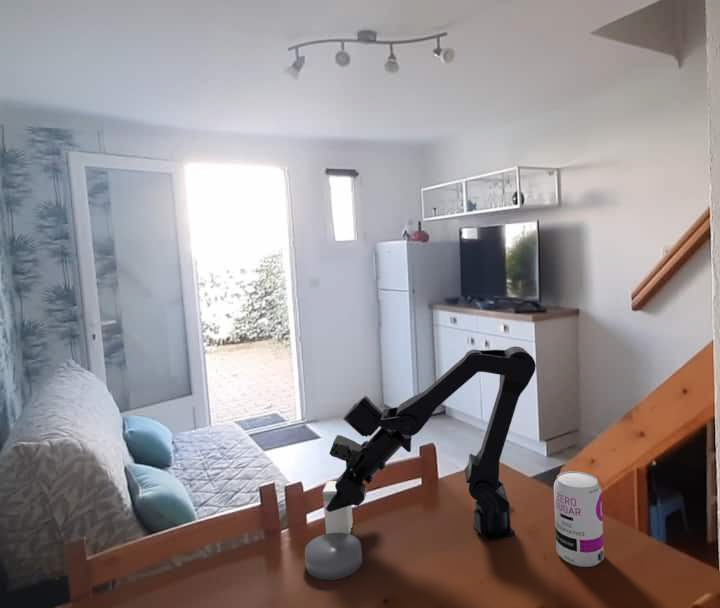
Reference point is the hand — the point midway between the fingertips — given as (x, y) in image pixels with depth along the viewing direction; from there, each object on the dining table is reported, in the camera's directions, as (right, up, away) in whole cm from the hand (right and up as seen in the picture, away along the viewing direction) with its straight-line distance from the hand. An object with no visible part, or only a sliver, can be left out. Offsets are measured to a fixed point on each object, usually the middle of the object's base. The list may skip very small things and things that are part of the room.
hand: (331, 499), depth 111 cm
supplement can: (+48, -5, -15) cm, 50 cm away
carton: (+2, -7, 0) cm, 7 cm away
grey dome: (+1, -8, -12) cm, 14 cm away
